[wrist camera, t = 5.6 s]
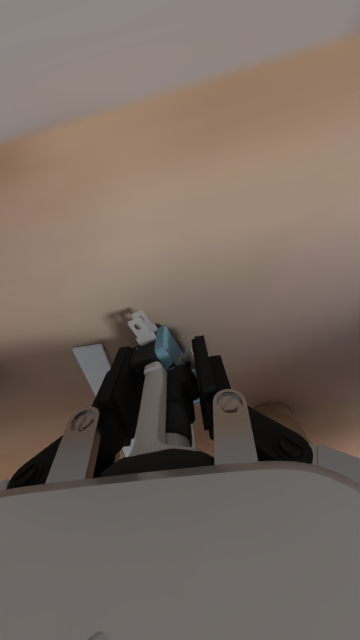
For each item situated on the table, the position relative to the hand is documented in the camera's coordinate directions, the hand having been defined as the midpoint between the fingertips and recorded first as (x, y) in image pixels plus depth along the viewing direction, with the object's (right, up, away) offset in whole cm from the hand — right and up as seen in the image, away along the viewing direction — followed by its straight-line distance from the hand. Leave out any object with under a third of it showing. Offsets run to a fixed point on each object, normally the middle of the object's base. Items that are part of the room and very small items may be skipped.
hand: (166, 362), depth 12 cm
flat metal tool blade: (-4, -5, +4) cm, 8 cm away
